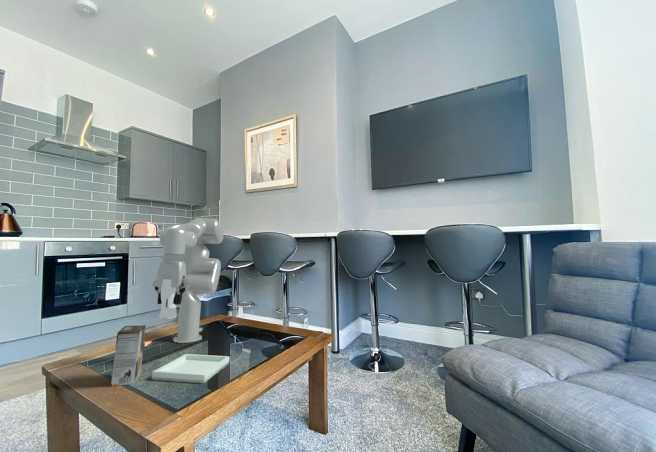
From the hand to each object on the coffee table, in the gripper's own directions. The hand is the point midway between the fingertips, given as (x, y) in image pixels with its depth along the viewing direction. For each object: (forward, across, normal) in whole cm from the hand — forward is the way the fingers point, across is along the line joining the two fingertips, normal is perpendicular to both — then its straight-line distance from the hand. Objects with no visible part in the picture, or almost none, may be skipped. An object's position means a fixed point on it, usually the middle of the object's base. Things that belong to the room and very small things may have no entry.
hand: (169, 303), depth 109 cm
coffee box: (+22, 0, -17) cm, 28 cm away
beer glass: (+5, 0, 0) cm, 5 cm away
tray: (+22, +17, -7) cm, 28 cm away
